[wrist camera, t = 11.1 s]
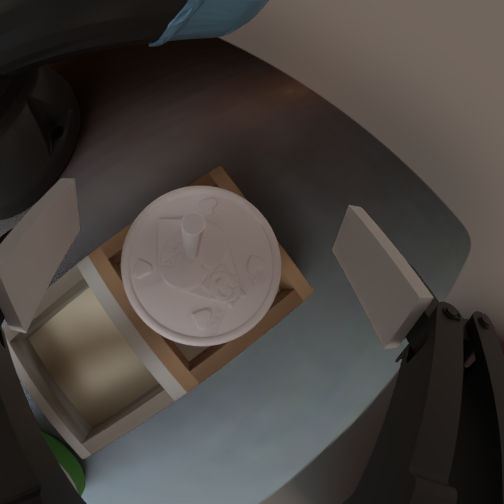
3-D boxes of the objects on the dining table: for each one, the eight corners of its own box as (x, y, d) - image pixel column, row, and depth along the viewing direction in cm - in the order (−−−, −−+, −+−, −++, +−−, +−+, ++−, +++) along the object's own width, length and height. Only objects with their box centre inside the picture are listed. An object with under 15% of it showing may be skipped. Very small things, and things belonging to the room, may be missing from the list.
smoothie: (196, 216, 21) (215, 87, 7) (259, 280, 21) (376, 245, 8) (132, 278, 19) (35, 238, 6) (196, 344, 20) (215, 428, 6)
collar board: (15, 326, 17) (-11, 329, 13) (211, 178, 23) (217, 155, 19) (100, 445, 17) (88, 468, 13) (301, 298, 23) (323, 298, 19)
